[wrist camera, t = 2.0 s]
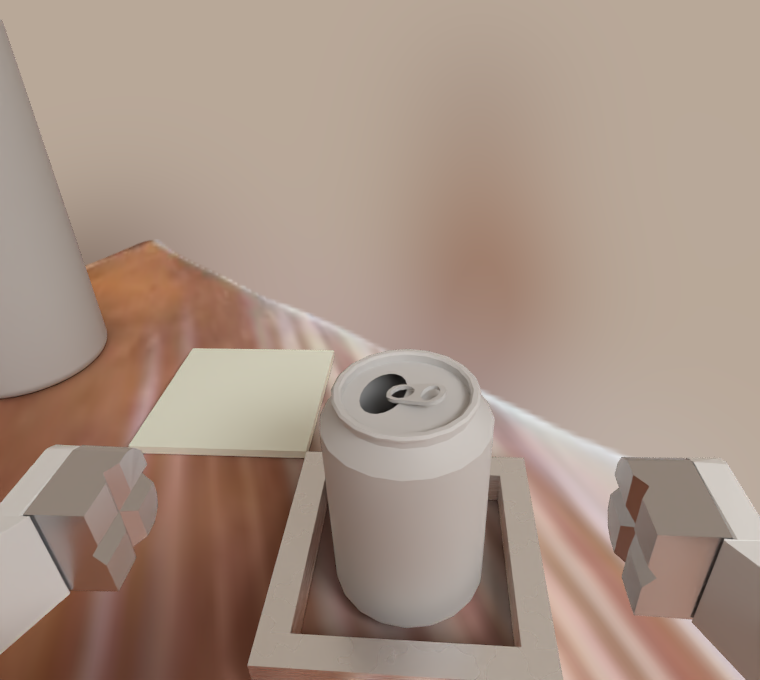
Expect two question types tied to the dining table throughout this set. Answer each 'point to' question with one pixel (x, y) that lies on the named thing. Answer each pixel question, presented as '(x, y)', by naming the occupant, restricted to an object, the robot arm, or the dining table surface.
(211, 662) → the dining table surface
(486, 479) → the can
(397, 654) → the square picture frame
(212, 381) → the tile
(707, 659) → the dining table surface
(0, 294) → the cylinder vase
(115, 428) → the dining table surface
